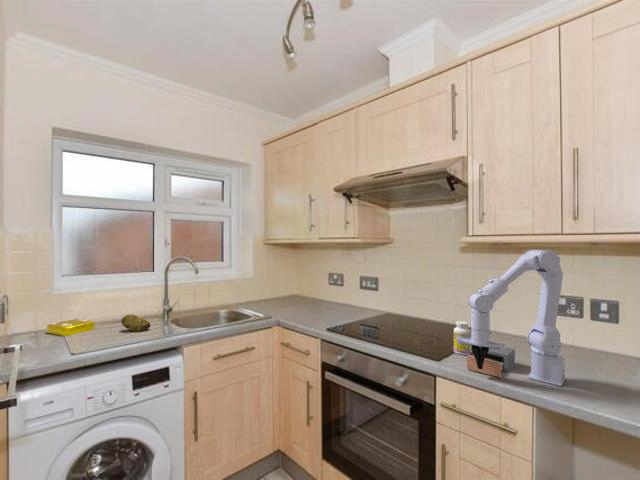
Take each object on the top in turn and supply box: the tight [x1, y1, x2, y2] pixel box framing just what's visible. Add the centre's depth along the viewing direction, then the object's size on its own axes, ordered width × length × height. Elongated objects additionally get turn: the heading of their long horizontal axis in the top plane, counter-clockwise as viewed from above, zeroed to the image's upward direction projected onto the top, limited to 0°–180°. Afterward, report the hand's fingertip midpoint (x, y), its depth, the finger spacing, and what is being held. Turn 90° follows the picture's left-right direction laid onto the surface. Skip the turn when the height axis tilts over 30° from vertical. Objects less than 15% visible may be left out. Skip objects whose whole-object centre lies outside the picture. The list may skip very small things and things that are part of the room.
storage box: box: [485, 346, 516, 373], centre depth 126 cm, size 11×10×6 cm
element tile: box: [46, 318, 95, 337], centre depth 166 cm, size 15×15×5 cm
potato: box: [120, 314, 151, 332], centre depth 168 cm, size 8×13×8 cm, turn 79°
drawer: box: [466, 354, 504, 378], centre depth 120 cm, size 11×10×5 cm
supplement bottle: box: [453, 320, 472, 356], centre depth 139 cm, size 7×7×13 cm
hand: (480, 368), depth 114 cm, fingers closed
